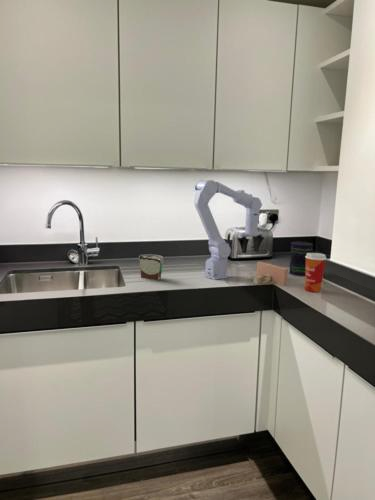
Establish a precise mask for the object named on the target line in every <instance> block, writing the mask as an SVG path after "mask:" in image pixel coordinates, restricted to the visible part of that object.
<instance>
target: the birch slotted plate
mask: <svg viewBox="0 0 375 500" xmlns="http://www.w3.org/2000/svg"><path fill="white" fill-rule="evenodd" d="M252 279H253V281H252V283H253V284H254V285H260V284H261V285H262V284H266V283H271V282H272V277H271V275H269V274H265V275H259V276H256V275H255V276H253V278H252ZM287 279H289V274H288V275H287ZM272 283H273V282H272Z"/></svg>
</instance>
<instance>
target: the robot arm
mask: <svg viewBox="0 0 375 500" xmlns="http://www.w3.org/2000/svg"><path fill="white" fill-rule="evenodd" d="M193 187H194V188H193V191H194V200H193V205H194V207H195V209H196V212H197V214H198V216H199V218H200V221H201V224H202V226H203V228H204V231H205V233H206V235H207V237H208V242H207V243H208V250H209V253H210V258H207V259H206V260H205V267H204V270H205V271H204V272H205V273H204V275H203V276H204V277H206V278H209V279H211V280H215V281H216V280H220V279H221V280H222V279H228V278H231V275H229V274H228V273H227V271H228V257H230V255H231V253H232V252H231V251H232V249H231V247H230V245H229V244H227V242H226V240H225V239H224V238H223V237H222V236H221V233H220V229H218V226H217V223H216V221H215V218H214V216H213V213H212V211H211V207H210V206H209V202H210V201H211V200H212V198H213V197H214V196H215V195H216V194H218V193H219V194H222V195H224V196H226V197H229V198H231V199H232V201H233V202H234V203H236V204H239V205H241V206H243V207H244V208H245V209H246V210H245V225H244V232H238V233H237V240H238V242H239V245H240V248H241V249H240V250H241V253H242V254H247V249H248V244H249V241H250V239H249V238H252V242H253V252H256V253H257V252H259V249H260V245H261V244H262V243H263V240H264V239H265V237H264V231H258V229H259V216H260V215H259V213H260V211H261V208H262V206H263V203H262V201H261V198H259V197H256V196H253V194H251V193H250V194H249V193H247V192H245V190H244V189H237V190H234V189H232V188H231V187H228V186H227V185H225V184H223V183H221V182H219V181H215V180H214V179H213V180H212V179H209V180H207V179H206V180H205V179H200V180H198V181H197V182H196V183H195V185H194V186H193Z"/></svg>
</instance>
